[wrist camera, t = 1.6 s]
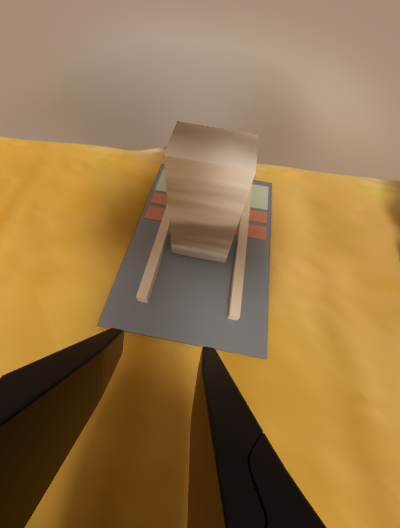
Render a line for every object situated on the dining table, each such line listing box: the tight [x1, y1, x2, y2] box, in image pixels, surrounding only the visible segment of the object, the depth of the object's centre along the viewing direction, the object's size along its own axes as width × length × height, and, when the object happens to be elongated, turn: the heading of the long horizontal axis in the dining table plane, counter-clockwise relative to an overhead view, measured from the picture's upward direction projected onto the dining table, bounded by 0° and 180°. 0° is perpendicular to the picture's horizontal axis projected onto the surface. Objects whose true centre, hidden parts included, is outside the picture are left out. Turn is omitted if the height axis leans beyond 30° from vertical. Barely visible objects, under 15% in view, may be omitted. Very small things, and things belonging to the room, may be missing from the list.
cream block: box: [164, 121, 259, 263], centre depth 21 cm, size 4×6×12 cm, turn 80°
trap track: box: [97, 164, 272, 359], centre depth 25 cm, size 24×16×3 cm
